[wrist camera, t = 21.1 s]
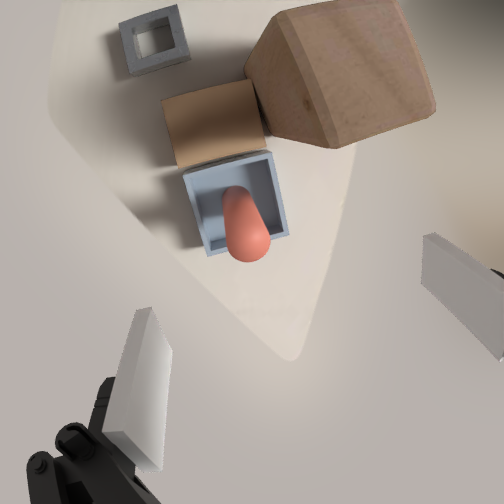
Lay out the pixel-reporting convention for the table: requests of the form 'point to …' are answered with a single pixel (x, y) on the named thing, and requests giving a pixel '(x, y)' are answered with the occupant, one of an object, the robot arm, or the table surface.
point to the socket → (150, 22)
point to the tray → (230, 174)
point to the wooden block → (339, 72)
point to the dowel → (243, 225)
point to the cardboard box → (213, 122)
